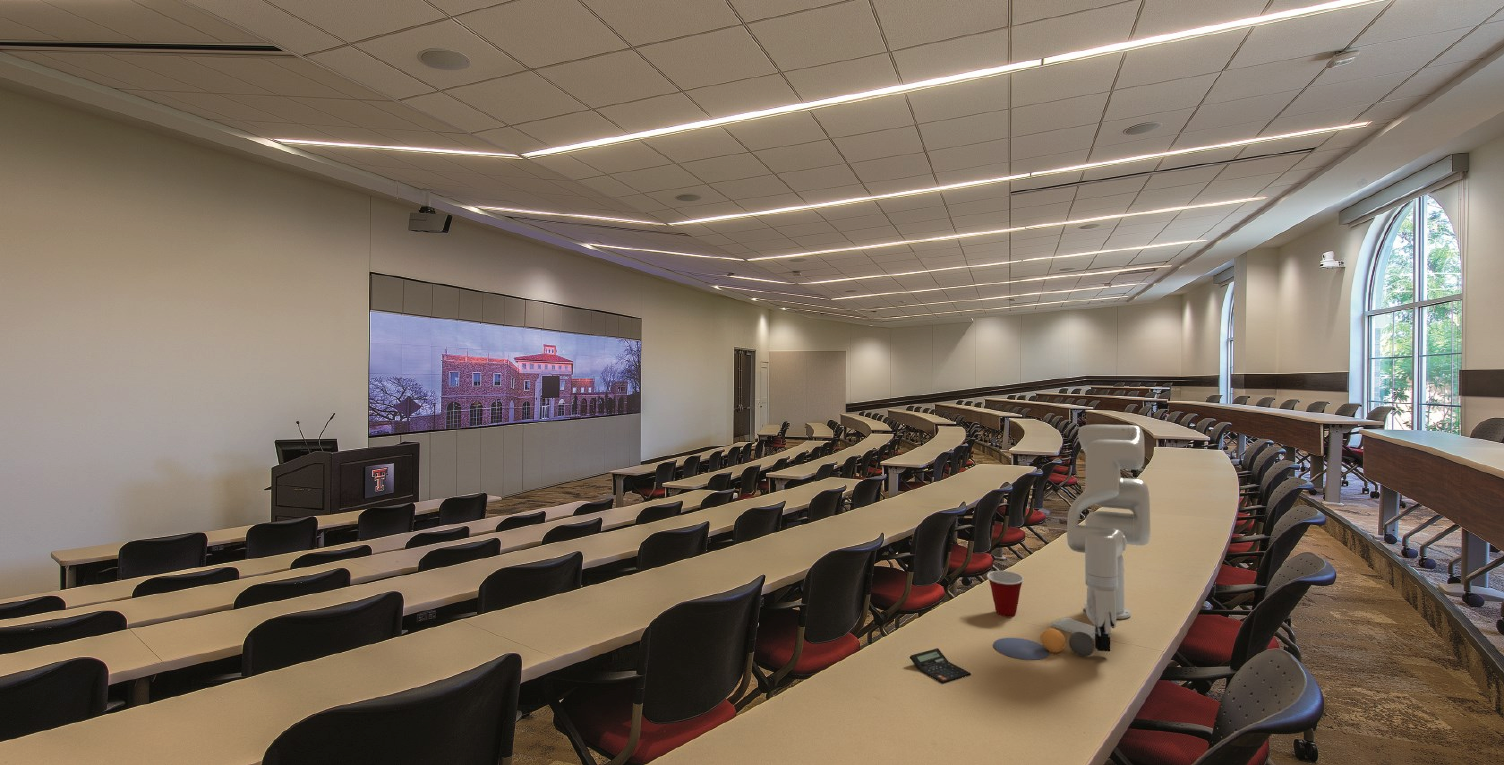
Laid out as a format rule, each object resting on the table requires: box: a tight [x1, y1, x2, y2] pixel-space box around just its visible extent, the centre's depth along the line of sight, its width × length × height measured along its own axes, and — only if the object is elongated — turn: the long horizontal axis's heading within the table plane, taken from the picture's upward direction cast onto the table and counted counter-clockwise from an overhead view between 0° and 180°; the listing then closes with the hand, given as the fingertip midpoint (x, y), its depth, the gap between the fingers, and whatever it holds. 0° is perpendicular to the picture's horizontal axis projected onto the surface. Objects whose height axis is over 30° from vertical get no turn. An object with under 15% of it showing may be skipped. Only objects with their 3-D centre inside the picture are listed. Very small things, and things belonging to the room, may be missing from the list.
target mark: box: [993, 637, 1050, 661], centre depth 169 cm, size 14×14×1 cm
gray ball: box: [1068, 632, 1095, 657], centre depth 164 cm, size 6×6×6 cm
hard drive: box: [1051, 617, 1095, 641], centre depth 182 cm, size 2×8×12 cm
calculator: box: [909, 647, 972, 684], centre depth 157 cm, size 9×12×3 cm
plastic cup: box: [986, 570, 1025, 617], centre depth 195 cm, size 11×11×12 cm
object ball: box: [1040, 627, 1066, 653], centre depth 167 cm, size 6×6×6 cm
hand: (1102, 649), depth 164 cm, fingers closed
